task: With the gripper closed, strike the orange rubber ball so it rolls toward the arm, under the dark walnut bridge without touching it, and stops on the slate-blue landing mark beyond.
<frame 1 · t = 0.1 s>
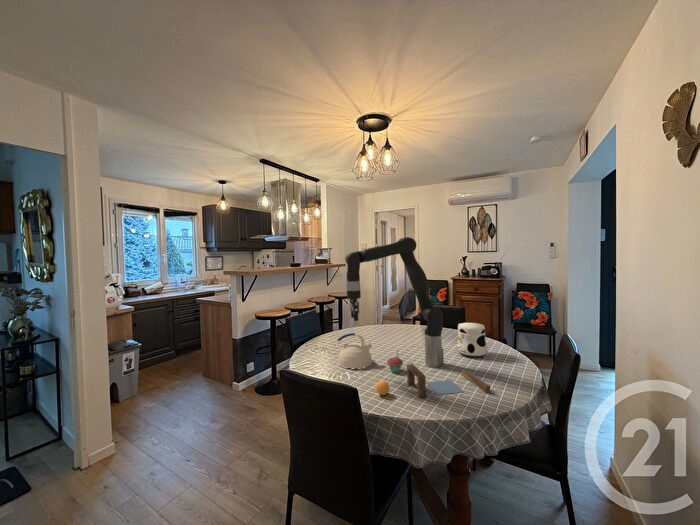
hand: (354, 319, 160), 29 cm above the table, tool pointing down, fingers open, 8 cm apart
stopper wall: (475, 383, 142), on the table
kettle: (355, 363, 175), on the table
milk container: (472, 354, 183), on the table
cupcake: (395, 371, 161), on the table
landing mark: (444, 387, 139), on the table
ball: (382, 387, 134), on the table
bridge: (416, 390, 137), on the table
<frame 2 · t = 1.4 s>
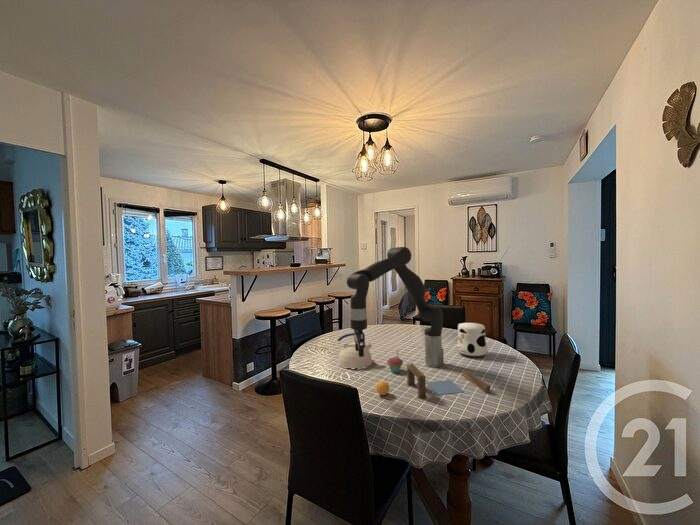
hand: (359, 353, 134), 19 cm above the table, tool pointing down, fingers open, 8 cm apart
nothing on the table moved.
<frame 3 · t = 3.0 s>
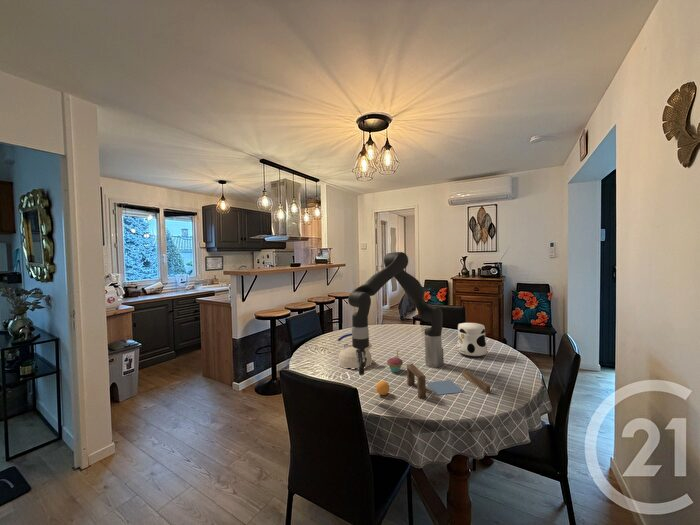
hand: (361, 374, 133), 10 cm above the table, tool pointing down, fingers closed
nothing on the table moved.
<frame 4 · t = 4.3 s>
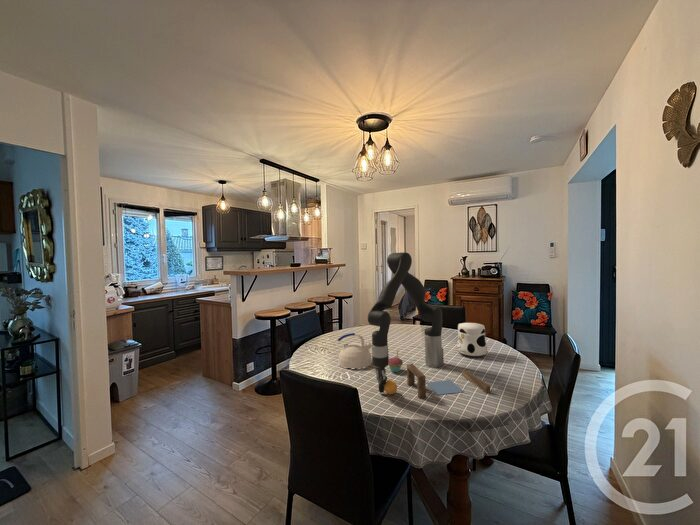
hand: (381, 391, 135), 1 cm above the table, tool pointing down, fingers closed
ball: (390, 387, 135), on the table
everything else where it was.
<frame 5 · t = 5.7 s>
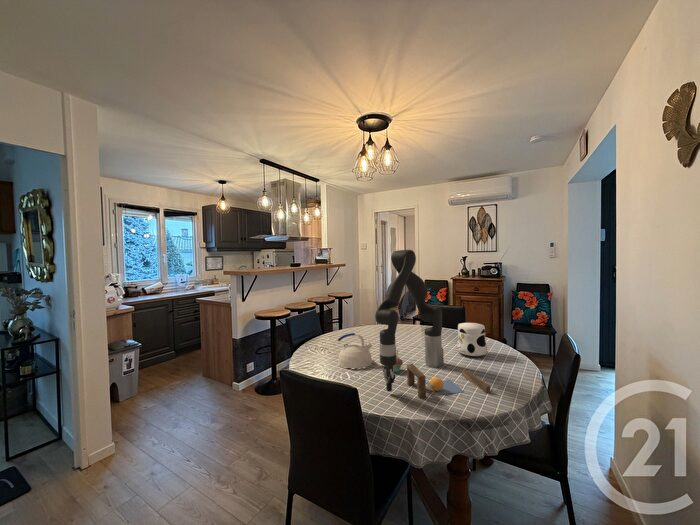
hand: (389, 390, 135), 2 cm above the table, tool pointing down, fingers closed
ball: (436, 384, 136), on the table
everything else where it was.
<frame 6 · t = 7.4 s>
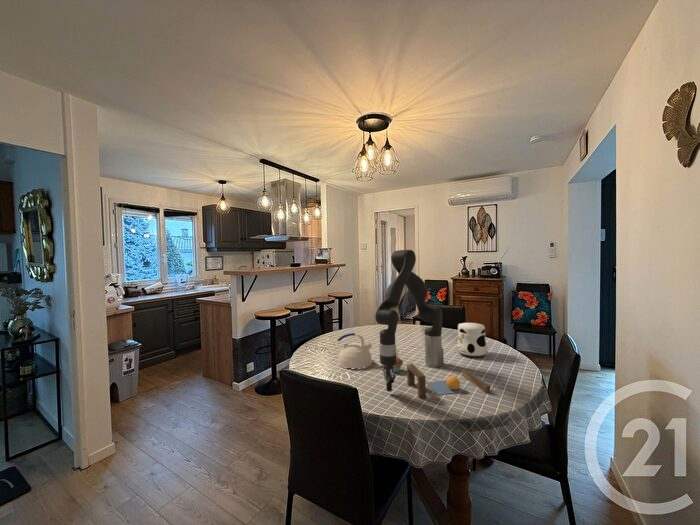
hand: (389, 390, 135), 2 cm above the table, tool pointing down, fingers closed
ball: (453, 383, 137), on the table
everything else where it was.
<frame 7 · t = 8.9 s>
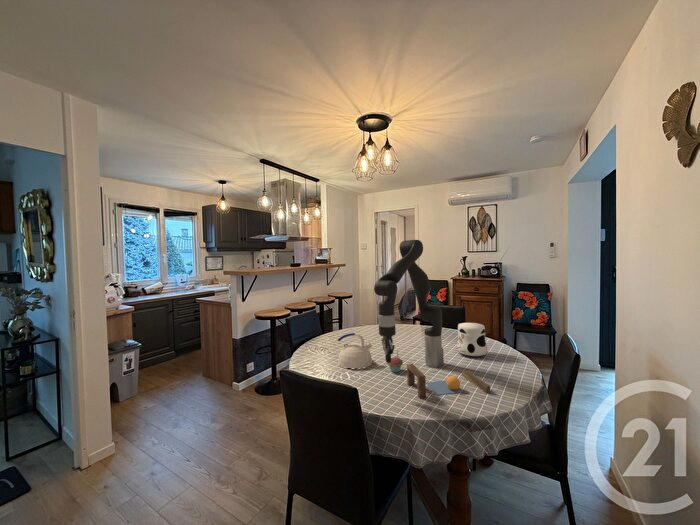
hand: (388, 362, 135), 15 cm above the table, tool pointing down, fingers closed
nothing on the table moved.
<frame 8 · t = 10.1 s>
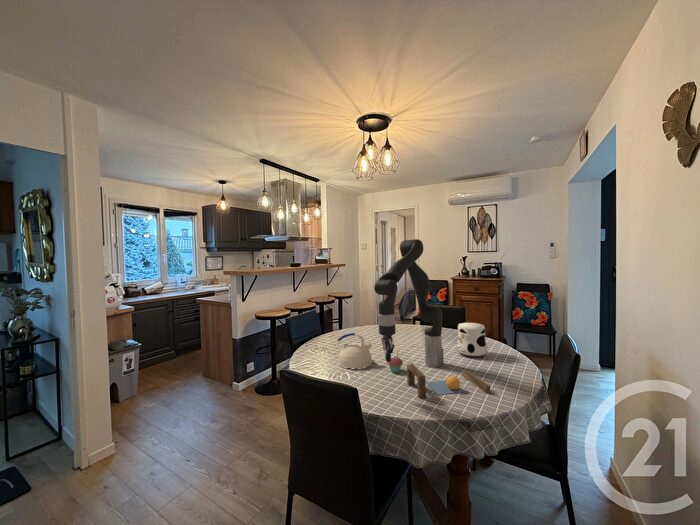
hand: (388, 361, 135), 15 cm above the table, tool pointing down, fingers closed
nothing on the table moved.
at the end: ball 4.2 cm from the landing mark (horizontally); ball never touched bridge; ball at rest at the end (0.0 cm/s) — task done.
